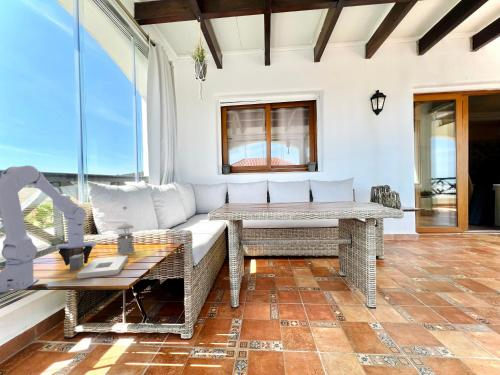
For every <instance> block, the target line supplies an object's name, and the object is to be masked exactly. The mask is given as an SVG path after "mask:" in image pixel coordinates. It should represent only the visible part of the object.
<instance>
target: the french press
mask: <svg viewBox="0 0 500 375" xmlns="http://www.w3.org/2000/svg"><path fill="white" fill-rule="evenodd" d="M122 209H123V210H127V209H128V208H127V206H123V207H122ZM133 228H134V226H133V225H132V224H128V223H124V224H121V225H118V226H117V227H116V229H117V230H124V233H123V232H122V233H120V234H118V235H117V236H118V237H117V238H116V240H117V242H116V243H117V251H116V252H115V255H119V256H126V255H130V254H133V253H132V252H134V251H135V250H136V249H135V247H134V244H135V243H134V242H135V241H134V236H133V233H132V232H129V229H133ZM135 252H136V251H135ZM135 252H134V253H135ZM129 253H130V254H129Z"/></svg>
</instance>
